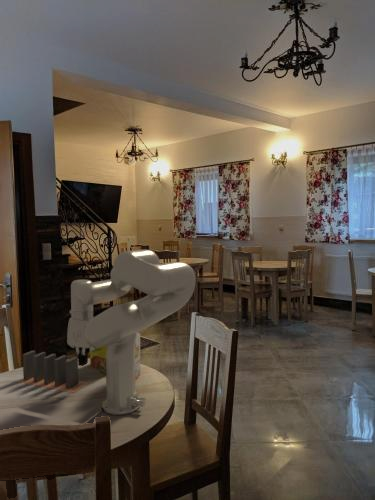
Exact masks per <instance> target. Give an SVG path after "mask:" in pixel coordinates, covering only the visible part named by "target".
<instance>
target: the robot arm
mask: <svg viewBox="0 0 375 500" xmlns="http://www.w3.org/2000/svg"><path fill="white" fill-rule="evenodd" d="M196 279H197V278H196V272H195V270H194V269H193V268H192V266H190V265H189V264H188V263H185V262H182V261H181V262H180V261H172V262H171V261H170V262H163V263H160V258H159V256H158V254H157V253H155V252H154V251H153V250H150V249H134V250H125V251H121V253H118V255H117V256H116V257H115V258H114V260H113V267H112V269H111V271H110V278H109V279H105V280H100V281H99V280H98V281H94V282H93V281H92V280H90V279H75V280H73V281H72V282H71V284H70V303H71V305H70V306H71V309H70V310H69V314H70V315H71V317H70V318H69V319H68V322H67V323H68V325H67V335H66V337H67V338H66V339H67V340H66V342H67V345H68V346H69V347H70V348H73V349H74V350H75V352H76V355H77V357H78V366H81V367H83V366H85V365H87V364H88V361H89V359H88V357H89V356H88V354H90V351H94V350H96V348H103V347H106V346H108V347H107V351H106V373H105V378H106V380H105V381H106V383H105V384H106V388H105V389H106V399H104V400H103V401H102V404H101V406H102V407H101V409H102V411H104V412H105V413H106V414H110V415H114V416H115V415H116V416H118V415H119V416H121V415H127V414H130V413H133V412H135V411H137V410H139V408H140V407H142V408H145V407H146V397H143V396H140V395H139V390H136V388H137V387H136V385H137V384H136V382H137V380H136V381H135V343H136V336H137V332H140V333H141V332H143V331H145V330H147V328H149V327H151V326H153V325H155V324H157V323H158V322H160V321H162V320H164V319H165V318H167V317H169V316H171V315H172V314H175V313H176V312H177V311H180V310H181V309H182V308H183V307H184V306H185V305H186V304H187V303H188V302H189V300H190V299H191V297H192V296H193V294H194V291H195V287H196V281H197V280H196ZM132 287H133V288H134V289H136V290H138V291H140V292H142V293H144V294H146V295H145V296H144V297H142V298H140V299H137V300H132V301H128V302H124V303H119V304H116V305H114V306H111V307H108V308H107V309H105V310H104V311H102V312H100V313H99V314H97V315H95V316H94V305H98V304H103V303H107V302H113V301H115V300H117V299H119V298H121V297H123V296H125V295H126V294H128V293H129V292H130V290H131V288H132Z"/></svg>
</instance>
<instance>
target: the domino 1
mask: <svg viewBox="0 0 375 500" xmlns="http://www.w3.org/2000/svg"><path fill="white" fill-rule="evenodd" d="M36 352H37V351H36V350H31V351H27V352H25V353H23V354H22V371H23V372H22V374H23V379H24V380H25V381H27V380H29V379H31V378H33V377H34V374H33V356H34V355H37V353H36Z"/></svg>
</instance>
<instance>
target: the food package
mask: <svg viewBox="0 0 375 500" xmlns="http://www.w3.org/2000/svg"><path fill="white" fill-rule="evenodd" d="M107 347H108V346H106V347H103V348H96V350H94V351H90V352H89V359H90V360H89V363H90V366H92V367H93V368H96V369H97V370H98V371H99V370H100V371H101V372H103V373H105V374H106V351H107Z"/></svg>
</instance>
